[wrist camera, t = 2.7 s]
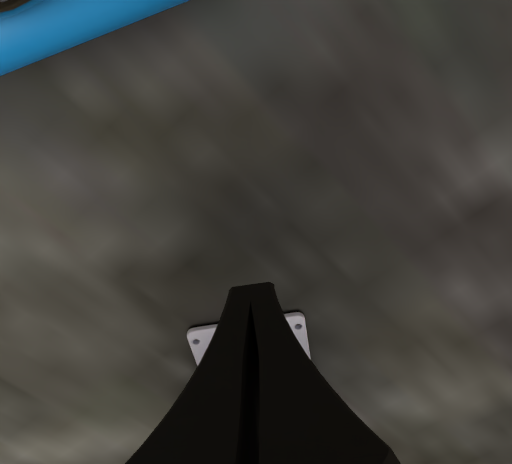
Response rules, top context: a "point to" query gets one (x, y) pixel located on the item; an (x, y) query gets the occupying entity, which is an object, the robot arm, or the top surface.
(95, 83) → the top surface
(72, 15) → the alarm clock
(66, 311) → the top surface
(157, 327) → the top surface
